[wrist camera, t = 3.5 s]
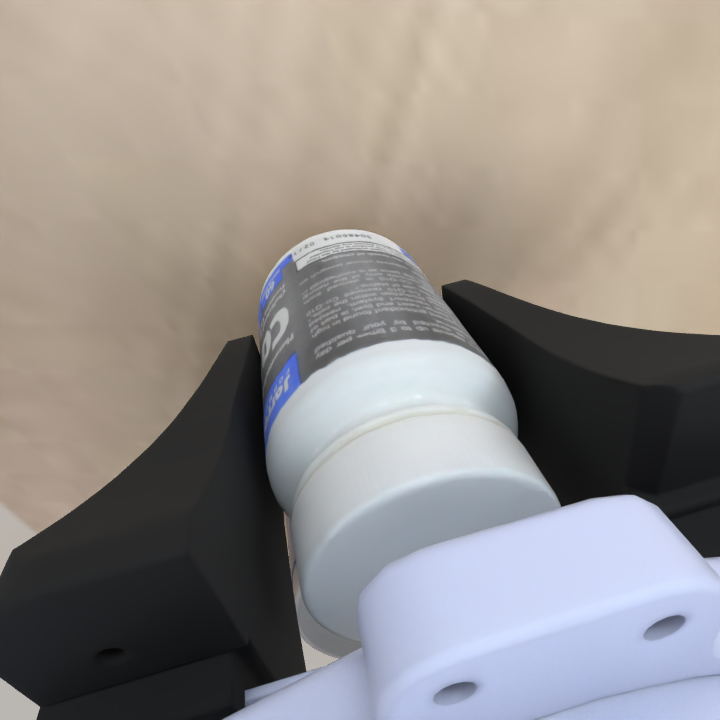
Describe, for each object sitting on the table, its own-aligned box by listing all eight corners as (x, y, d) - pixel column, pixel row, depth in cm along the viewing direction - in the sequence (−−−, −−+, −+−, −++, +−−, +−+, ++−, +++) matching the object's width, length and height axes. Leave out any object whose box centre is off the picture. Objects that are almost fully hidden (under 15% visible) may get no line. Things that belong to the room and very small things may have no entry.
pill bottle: (236, 245, 12) (225, 504, 5) (416, 209, 13) (619, 408, 6) (279, 391, 15) (308, 690, 8) (426, 358, 15) (574, 615, 9)
